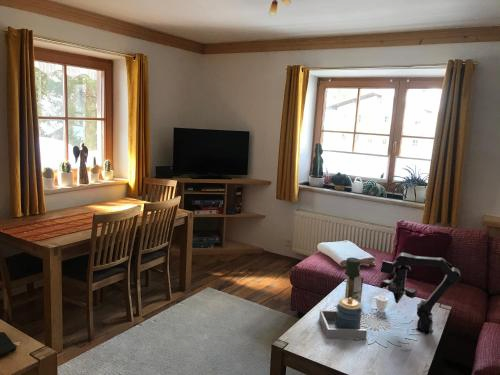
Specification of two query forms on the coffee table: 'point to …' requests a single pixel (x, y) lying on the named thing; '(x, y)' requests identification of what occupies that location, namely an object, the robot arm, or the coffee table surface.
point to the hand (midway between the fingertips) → (396, 302)
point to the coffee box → (355, 288)
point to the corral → (339, 333)
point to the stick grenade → (352, 273)
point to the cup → (380, 303)
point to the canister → (348, 314)
